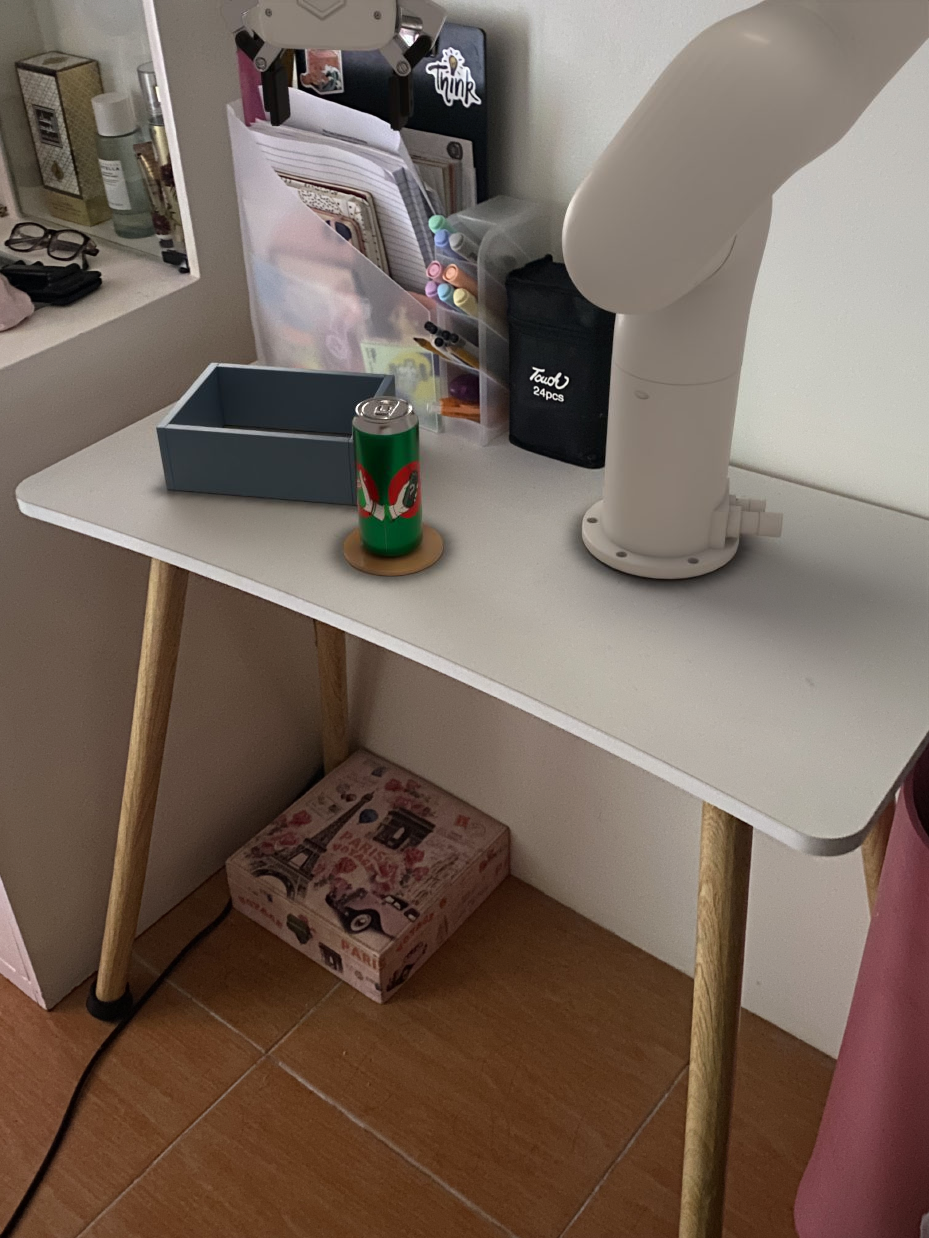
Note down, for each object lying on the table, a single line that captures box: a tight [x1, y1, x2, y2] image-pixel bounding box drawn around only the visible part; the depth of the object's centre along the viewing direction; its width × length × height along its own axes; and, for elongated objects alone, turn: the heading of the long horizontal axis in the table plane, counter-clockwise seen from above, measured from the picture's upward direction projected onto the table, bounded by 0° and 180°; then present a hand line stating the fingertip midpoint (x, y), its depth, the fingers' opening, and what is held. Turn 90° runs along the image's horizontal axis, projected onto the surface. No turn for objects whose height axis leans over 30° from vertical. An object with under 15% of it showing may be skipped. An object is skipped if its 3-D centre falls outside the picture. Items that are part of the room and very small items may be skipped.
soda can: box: [351, 396, 424, 558], centre depth 95 cm, size 5×5×12 cm
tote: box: [155, 362, 397, 506], centre depth 109 cm, size 18×14×6 cm
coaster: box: [342, 523, 444, 577], centre depth 98 cm, size 8×8×1 cm
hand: (339, 124), depth 97 cm, fingers open, 9 cm apart
